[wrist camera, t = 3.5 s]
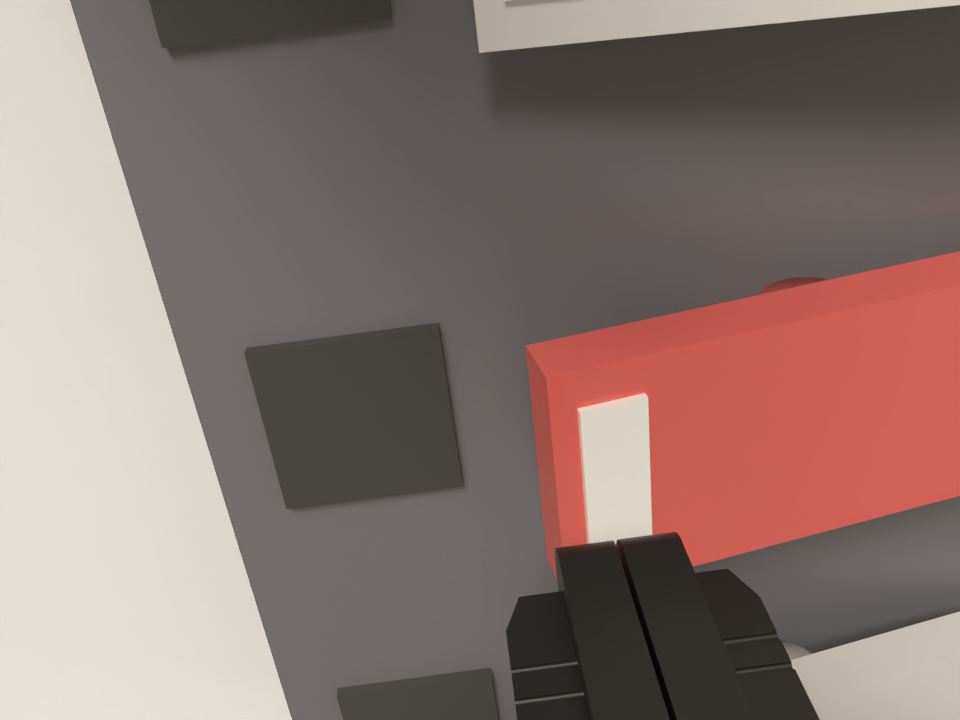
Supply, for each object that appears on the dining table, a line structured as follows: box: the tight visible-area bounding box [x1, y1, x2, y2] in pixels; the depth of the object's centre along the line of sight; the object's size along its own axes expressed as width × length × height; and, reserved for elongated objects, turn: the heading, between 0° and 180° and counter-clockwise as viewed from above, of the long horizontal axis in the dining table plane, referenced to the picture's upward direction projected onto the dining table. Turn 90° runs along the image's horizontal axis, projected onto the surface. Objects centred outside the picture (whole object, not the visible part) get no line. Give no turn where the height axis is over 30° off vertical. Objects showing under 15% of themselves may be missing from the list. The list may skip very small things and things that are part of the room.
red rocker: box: [525, 251, 960, 579], centre depth 14 cm, size 9×4×2 cm, turn 97°
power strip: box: [70, 0, 960, 720], centre depth 17 cm, size 15×25×4 cm, turn 7°
